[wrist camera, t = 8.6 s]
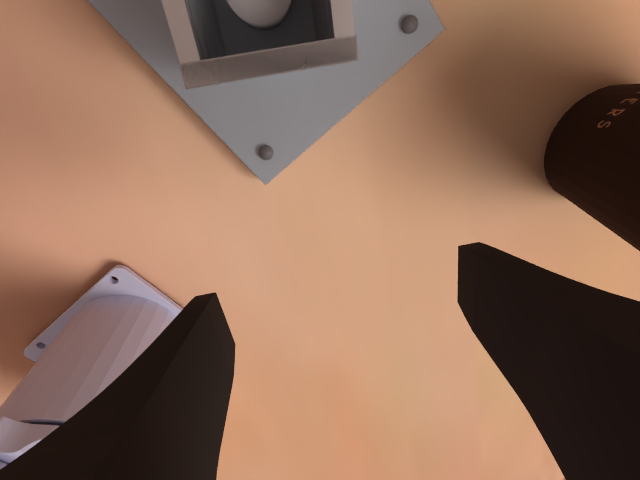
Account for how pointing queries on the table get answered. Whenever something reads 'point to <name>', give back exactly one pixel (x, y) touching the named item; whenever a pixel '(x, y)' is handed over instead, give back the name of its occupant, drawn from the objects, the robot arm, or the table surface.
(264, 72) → the elbow
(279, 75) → the panel
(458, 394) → the table surface
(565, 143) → the coffee mug
